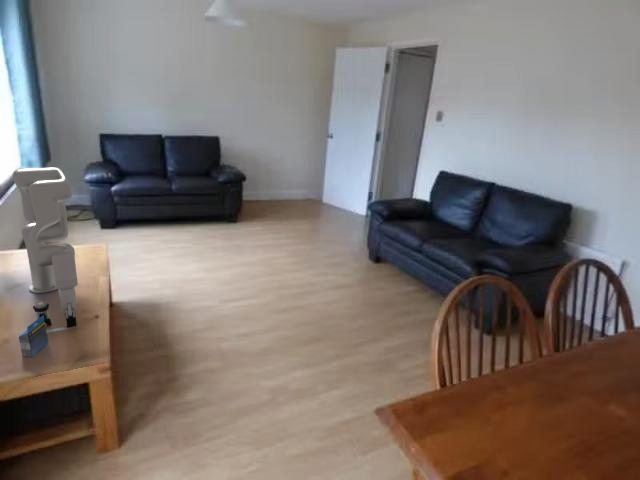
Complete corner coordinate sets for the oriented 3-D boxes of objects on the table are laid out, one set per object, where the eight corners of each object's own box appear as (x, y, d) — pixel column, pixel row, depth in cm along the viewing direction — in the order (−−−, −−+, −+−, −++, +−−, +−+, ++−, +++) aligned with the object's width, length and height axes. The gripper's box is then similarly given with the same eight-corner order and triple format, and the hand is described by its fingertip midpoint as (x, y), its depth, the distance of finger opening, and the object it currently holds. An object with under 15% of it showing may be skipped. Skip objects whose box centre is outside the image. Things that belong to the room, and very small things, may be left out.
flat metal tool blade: (39, 332, 162) (39, 331, 162) (77, 325, 169) (77, 324, 169) (39, 334, 160) (39, 334, 160) (78, 327, 167) (78, 326, 167)
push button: (34, 332, 162) (30, 309, 158) (30, 326, 165) (26, 304, 162) (53, 326, 166) (50, 304, 163) (49, 321, 170) (46, 299, 166)
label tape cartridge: (38, 342, 156) (33, 313, 152) (48, 343, 156) (44, 314, 152) (21, 356, 147) (16, 326, 143) (32, 357, 147) (27, 327, 143)
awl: (66, 324, 167) (63, 302, 164) (77, 322, 169) (75, 300, 166) (66, 329, 164) (63, 307, 161) (77, 327, 166) (75, 305, 163)
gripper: (54, 274, 165) (60, 315, 171) (55, 292, 152) (61, 336, 158) (76, 271, 169) (81, 311, 175) (78, 289, 156) (83, 331, 162)
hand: (71, 322), depth 166 cm, fingers open, 4 cm apart
